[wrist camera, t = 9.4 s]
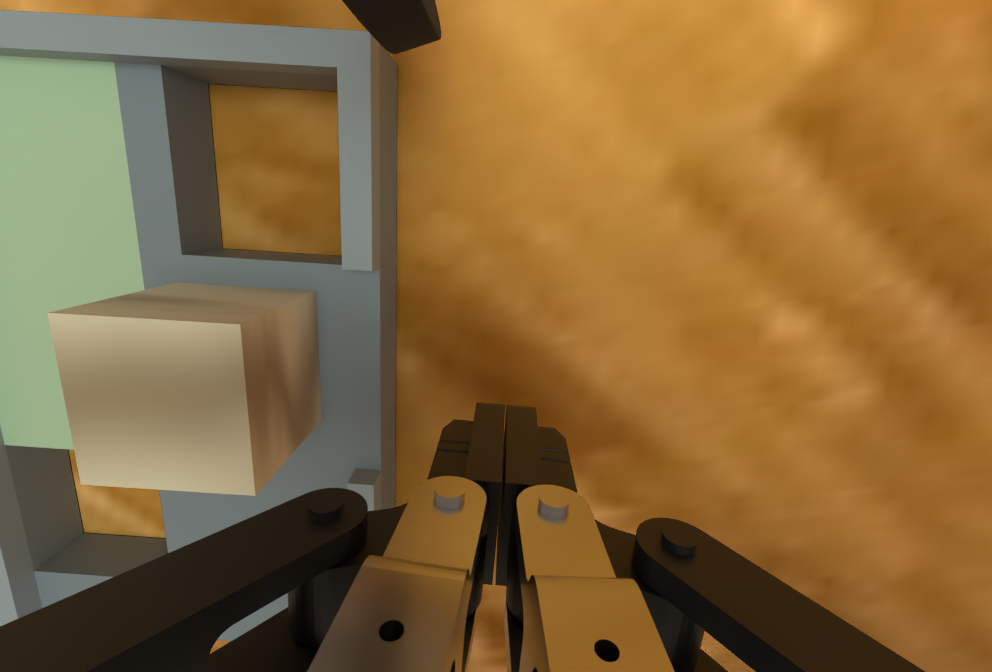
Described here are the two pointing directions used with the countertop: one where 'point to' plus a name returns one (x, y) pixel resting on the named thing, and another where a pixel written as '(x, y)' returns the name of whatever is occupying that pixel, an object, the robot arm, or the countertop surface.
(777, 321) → the countertop surface
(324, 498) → the robot arm
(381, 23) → the coffee press
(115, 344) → the maple block
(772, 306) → the countertop surface
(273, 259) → the box
